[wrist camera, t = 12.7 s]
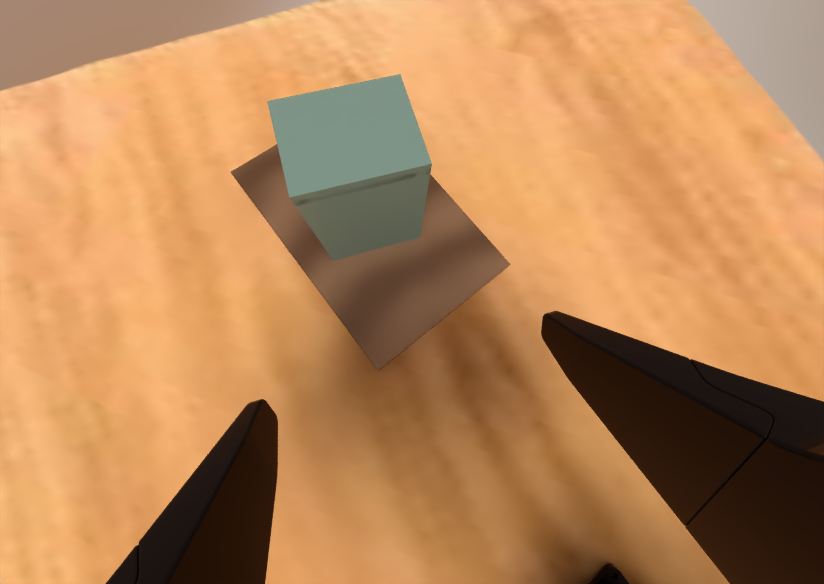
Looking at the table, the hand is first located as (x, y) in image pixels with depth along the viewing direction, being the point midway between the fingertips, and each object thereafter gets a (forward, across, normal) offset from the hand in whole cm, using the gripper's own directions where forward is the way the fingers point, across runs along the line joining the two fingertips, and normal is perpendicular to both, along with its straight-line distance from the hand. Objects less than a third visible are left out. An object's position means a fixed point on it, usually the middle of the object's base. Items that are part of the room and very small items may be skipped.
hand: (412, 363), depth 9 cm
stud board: (+18, 0, +1) cm, 18 cm away
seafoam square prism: (+17, 0, 0) cm, 17 cm away
